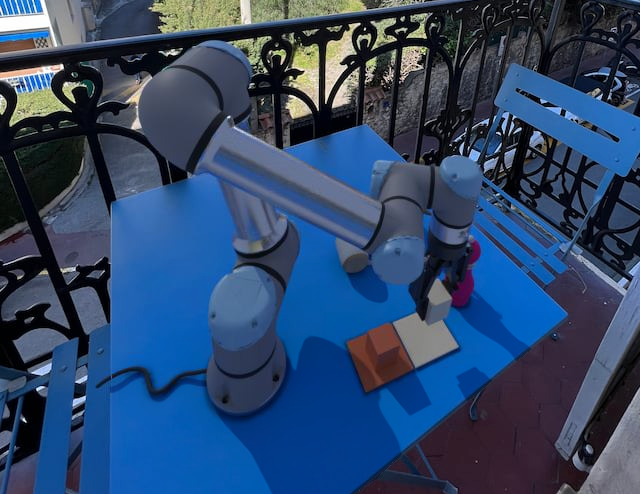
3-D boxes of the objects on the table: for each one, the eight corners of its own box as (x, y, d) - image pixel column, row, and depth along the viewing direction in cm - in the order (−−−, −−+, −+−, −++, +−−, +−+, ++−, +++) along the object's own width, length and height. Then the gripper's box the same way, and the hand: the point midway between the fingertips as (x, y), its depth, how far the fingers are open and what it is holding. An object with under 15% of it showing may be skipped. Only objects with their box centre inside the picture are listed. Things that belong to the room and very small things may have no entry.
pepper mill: (435, 285, 101) (448, 227, 93) (459, 278, 104) (474, 220, 95) (450, 312, 95) (466, 253, 87) (476, 303, 98) (494, 245, 89)
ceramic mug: (341, 278, 101) (344, 256, 98) (333, 251, 108) (335, 230, 105) (381, 269, 104) (384, 248, 101) (371, 244, 111) (374, 223, 108)
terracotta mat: (365, 393, 79) (365, 391, 79) (346, 343, 87) (346, 342, 87) (413, 369, 83) (413, 368, 83) (390, 324, 91) (391, 323, 91)
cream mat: (415, 368, 84) (416, 367, 83) (392, 323, 92) (393, 322, 91) (458, 347, 88) (458, 346, 88) (433, 306, 96) (433, 305, 96)
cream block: (427, 326, 83) (432, 307, 81) (415, 304, 87) (418, 285, 85) (447, 317, 85) (452, 298, 83) (434, 296, 89) (438, 278, 87)
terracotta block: (375, 372, 82) (378, 355, 79) (365, 348, 86) (367, 331, 83) (396, 362, 84) (400, 345, 81) (385, 339, 88) (388, 322, 85)
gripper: (419, 261, 70) (403, 343, 79) (499, 232, 77) (476, 310, 87) (397, 229, 76) (386, 309, 86) (474, 204, 83) (455, 281, 93)
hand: (431, 309), depth 86 cm, fingers closed on cream block, 5 cm apart
